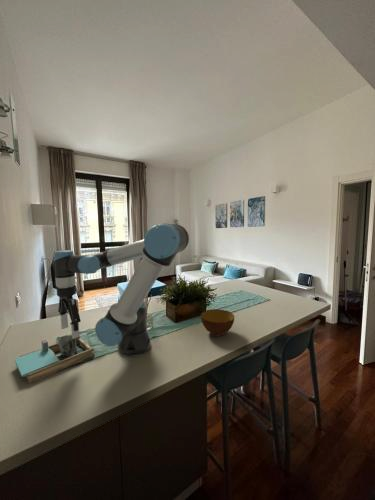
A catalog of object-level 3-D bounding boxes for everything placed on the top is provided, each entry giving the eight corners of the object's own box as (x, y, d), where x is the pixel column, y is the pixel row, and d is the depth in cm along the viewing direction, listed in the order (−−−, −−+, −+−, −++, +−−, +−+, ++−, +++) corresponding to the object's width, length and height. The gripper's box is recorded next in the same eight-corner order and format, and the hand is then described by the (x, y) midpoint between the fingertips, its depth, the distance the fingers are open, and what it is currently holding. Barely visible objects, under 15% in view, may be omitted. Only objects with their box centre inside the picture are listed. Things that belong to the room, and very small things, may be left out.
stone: (80, 331, 99) (56, 332, 98) (74, 354, 92) (48, 355, 91) (85, 339, 106) (62, 340, 104) (80, 361, 99) (56, 363, 98)
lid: (58, 362, 88) (57, 351, 88) (22, 377, 79) (20, 365, 79) (48, 348, 98) (47, 338, 98) (14, 360, 89) (13, 349, 89)
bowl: (237, 329, 121) (237, 312, 120) (229, 345, 105) (229, 325, 104) (207, 323, 129) (207, 307, 128) (195, 337, 113) (195, 318, 112)
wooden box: (94, 355, 98) (93, 348, 97) (29, 383, 80) (28, 374, 80) (79, 341, 109) (79, 335, 109) (20, 363, 92) (19, 356, 91)
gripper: (86, 288, 89) (90, 338, 91) (65, 280, 106) (69, 322, 108) (66, 293, 84) (71, 345, 86) (48, 283, 101) (52, 327, 103)
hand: (70, 332), depth 97 cm, fingers open, 13 cm apart
